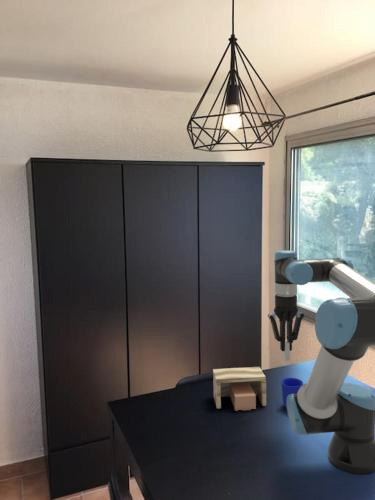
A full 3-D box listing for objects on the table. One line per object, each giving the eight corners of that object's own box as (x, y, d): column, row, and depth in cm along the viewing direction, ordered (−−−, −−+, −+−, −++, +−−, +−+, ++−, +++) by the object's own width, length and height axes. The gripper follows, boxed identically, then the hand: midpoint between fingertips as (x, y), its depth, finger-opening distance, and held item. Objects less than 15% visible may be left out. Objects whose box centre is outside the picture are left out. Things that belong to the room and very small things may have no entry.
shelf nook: (266, 405, 172) (266, 377, 170) (217, 408, 170) (216, 380, 169) (259, 393, 182) (259, 366, 181) (213, 395, 181) (212, 369, 180)
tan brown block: (255, 410, 169) (255, 395, 168) (235, 411, 168) (235, 396, 167) (249, 396, 181) (249, 382, 180) (230, 397, 180) (229, 383, 179)
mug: (307, 416, 162) (307, 391, 161) (277, 407, 170) (277, 383, 168) (315, 407, 169) (316, 383, 168) (286, 399, 176) (286, 375, 175)
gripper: (299, 291, 158) (299, 354, 160) (264, 293, 156) (265, 357, 159) (307, 295, 151) (307, 361, 153) (271, 297, 149) (272, 364, 151)
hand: (286, 359), depth 156 cm, fingers closed
